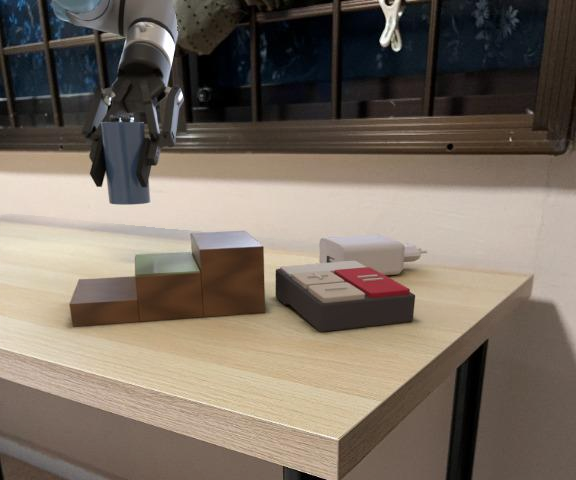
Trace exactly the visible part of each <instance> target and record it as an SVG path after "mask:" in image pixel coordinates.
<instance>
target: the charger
mask: <svg viewBox="0 0 576 480" xmlns="http://www.w3.org/2000/svg"><path fill="white" fill-rule="evenodd" d="M422 254H428V250H427V249H425V250H423V249H422V248H420V247H419V248H418V247H417V246H416V245H414V244H411V243H402V242H400V241H398V240H396V239H393V238H390V237H387V236H384V235H380V234H361V235H347V236H345V235H344V236H331V237H329V236H328V237H321V238H320V239H319V257H318V259H319V262H318V264H319V263H331V262H344V261H357V262H358V263H360V264H362V265H364V266H366V267H370V268H372V269H374V270H376V271H378V272H380V273H381V274H383V275H385V276H396V275H400V274H401V272H402V271H404V265H405V264H404V263H411V262H412V263H413V262H416V261H417V260H419V259H420V258H421V257H422Z"/></svg>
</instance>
